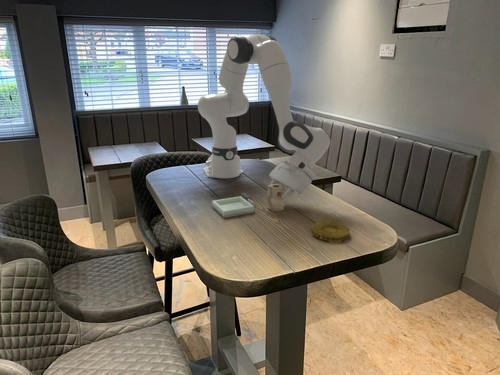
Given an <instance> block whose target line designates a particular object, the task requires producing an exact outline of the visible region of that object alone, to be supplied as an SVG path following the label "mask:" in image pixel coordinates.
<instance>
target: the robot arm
mask: <svg viewBox="0 0 500 375" xmlns="http://www.w3.org/2000/svg"><path fill="white" fill-rule="evenodd" d="M226 49H227V50H226V51H225V54H224V57H223V59H222V63H221V67H220V70H219V71H220V72H219V74H218V82H219V84H220V86H221V87H222V88H223V89H225V90H224V92H223V93H209V94H206V95H203V96H201V97H200V98H199V100H198V102H197V110H198V113H199V114H200V116H201V117H202V118H203V119H205V120H206V121H207V122H208V124H209V126H210V128H211V132H212V143H213V144H212V145H213V146H212V148H211V155H210V156H209V157H208V158H207V160H206V161H205V166H204V167H203V172H204V174H205V175H206V177H207V178H217V179H234V178H237V177H239V176H240V175H241V174H243V173H244V170H243V169H242V168H241V157H240V156H239V155H238V145H237V131H236V129H235V128H234V127H233V126H232V125H230V124H228V122H227V118H229V117H230V118H231V117H233V118H234V117H239V116H242V115H244V114H246V113H247V112H248V111H249V108H250V107H249V106H250V101H249V98H248V97H247V95H246V94H245V93H244V83H245V79H246V75H247V72H248V69H249V65H256V64H257V66H258V68H259V72H260V77H261V79H262V82H263V84H264V87H265V89H266V92H267V94H268V97H269V99H270V102H271V104H272V107H273V110H274V115H275V119H276V123H277V126H278V136H277V144H278V146H279V148H280V149H281V150H282V151H284V152H286V153H288V154H292V155H291V156H290V158H289V159H288V160H285V161H282V162H280V163H278V164H277V166H276V167H274V168H273V169H272V171H271V172H270V173H269V178H270V179H271V181H270V183H269V185H272V184H280V185H282V186H284V188H286V189H287V190H286V191H284V193H282V194H281V196H280V197H281V198H282V199H283V200H284V201H286V199H288V197H290V196H291V195H293V194H294V193H296V194H297V195H302V194H304V192H305V191H306V190H307V189H308V187H310V185H311V184H312V181H314V180H315V179H316V178H317V175H316V174H315V171H314V170H313V168H314V167H315V165H316V163H317V162H318V161H319V160H321V158H322V157H323V156H324V154H325V153H326V152H327V150H328V149H329V147H330V145H331V138H330V136H329V134H328V133H327V131H326V130H324V129H323V128H321V127H312V126H309V125H307V124H304V123H302V122H301V121H298V120H294V118H293V115H292V111H291V106H290V93H291V89H292V84H293V83H292V73H291V69H290V66H289V61H288V59H287V56H286V54H285V52H284V50H283V48H282V45H281V44H280V43H279V42H278V41H277V39H276V38H275V37H274V36H271V35H267V34H258V33H257V34H256V33H255V34H254V33H253V34H244V35H242V34H237V35H234V36H232V37H231V38H230V39H229V40H228V43H227V48H226Z"/></svg>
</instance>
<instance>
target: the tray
mask: <svg viewBox="0 0 500 375" xmlns="http://www.w3.org/2000/svg"><path fill="white" fill-rule="evenodd" d="M211 207H212V208H213V209H214V210H215V211H216V212H217V213H218V214H219V215H220V216H221V217H222V218H223V219H226V218H231V217H237V216H243V215H248V214H253V213H255V205H253V204H252V203H250V202H249V201H247V200H245V199H244V198H243V197H241V195H240V196H234V197H227V198H222V199H221V198H220V199H214V200H211Z"/></svg>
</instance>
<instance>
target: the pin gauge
mask: <svg viewBox="0 0 500 375" xmlns="http://www.w3.org/2000/svg"><path fill="white" fill-rule="evenodd" d="M240 196H241V197H243V198H244V199H245V200H247V201H248V202H249V203H251V204H252V205H253V206H256V205H257V202H255V201H253V200H252V199H251V197H250V196H249V195H248V194H247V193H245V192H244V193H240Z"/></svg>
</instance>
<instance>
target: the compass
mask: <svg viewBox="0 0 500 375" xmlns="http://www.w3.org/2000/svg"><path fill="white" fill-rule="evenodd" d="M350 230H351V229H350V228H349V226H347V225H346V224H343V223H340V222H337V221H333V220H332V221H330V220H326V221H325V220H324V221H323V220H321V221H318V222H315V223H313V224H312V225H311V233H310V234H311V236H312V237H316V238H317V239H320V240H324V241H326V242H327V241H328V243H341V242H342V241H344V240H346V239H348V238H349V237H350V232H351V231H350Z"/></svg>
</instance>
